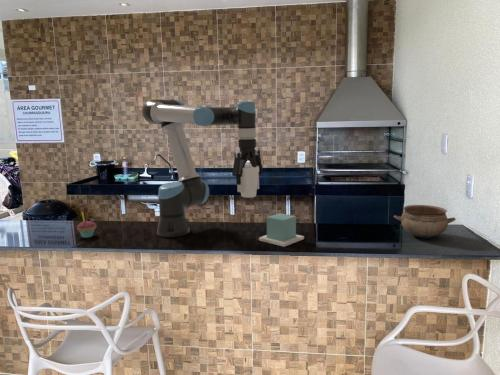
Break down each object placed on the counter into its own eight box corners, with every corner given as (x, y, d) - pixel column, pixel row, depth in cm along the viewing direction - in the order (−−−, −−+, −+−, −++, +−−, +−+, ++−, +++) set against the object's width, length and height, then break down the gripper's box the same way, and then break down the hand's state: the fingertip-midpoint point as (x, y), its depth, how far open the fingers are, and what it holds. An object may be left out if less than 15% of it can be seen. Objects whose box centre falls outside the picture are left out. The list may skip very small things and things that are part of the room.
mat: (258, 240, 177) (258, 237, 176) (279, 233, 187) (279, 230, 186) (284, 246, 167) (284, 243, 167) (303, 238, 177) (303, 236, 177)
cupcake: (73, 238, 186) (71, 212, 183) (86, 233, 193) (83, 208, 191) (89, 239, 183) (86, 213, 181) (101, 234, 191) (99, 209, 189)
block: (266, 237, 176) (266, 217, 175) (279, 232, 183) (279, 213, 181) (283, 241, 170) (282, 220, 169) (295, 236, 177) (295, 216, 175)
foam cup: (233, 196, 177) (232, 166, 175) (249, 193, 183) (249, 164, 180) (247, 199, 170) (246, 168, 167) (263, 196, 176) (263, 166, 173)
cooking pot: (394, 241, 171) (396, 213, 169) (391, 229, 189) (392, 203, 187) (459, 244, 165) (461, 215, 163) (449, 231, 183) (451, 205, 181)
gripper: (258, 137, 182) (259, 185, 186) (222, 139, 167) (224, 193, 170) (270, 137, 177) (271, 187, 181) (234, 140, 162) (236, 195, 165)
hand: (248, 190), depth 176 cm, fingers closed on foam cup, 9 cm apart
